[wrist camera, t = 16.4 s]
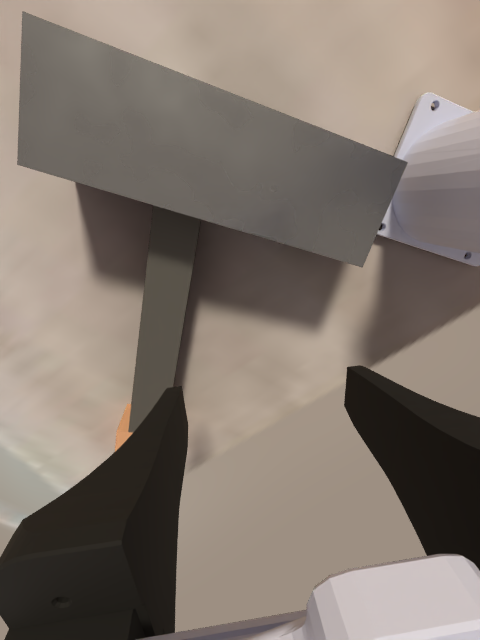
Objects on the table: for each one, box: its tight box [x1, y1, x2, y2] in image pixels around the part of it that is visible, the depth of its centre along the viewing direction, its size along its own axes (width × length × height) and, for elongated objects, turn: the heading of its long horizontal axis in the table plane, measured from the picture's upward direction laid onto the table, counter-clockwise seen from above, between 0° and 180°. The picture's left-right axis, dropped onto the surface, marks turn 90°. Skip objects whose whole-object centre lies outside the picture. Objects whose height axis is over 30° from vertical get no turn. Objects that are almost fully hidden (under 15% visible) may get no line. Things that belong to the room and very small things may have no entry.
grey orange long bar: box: [115, 205, 201, 451], centre depth 20 cm, size 4×19×3 cm, turn 168°
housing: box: [17, 11, 408, 267], centre depth 15 cm, size 16×5×6 cm, turn 74°
